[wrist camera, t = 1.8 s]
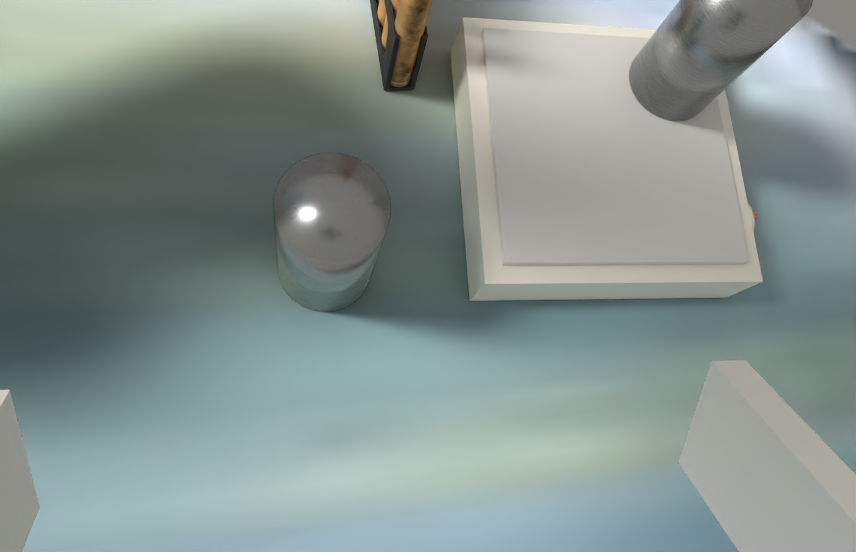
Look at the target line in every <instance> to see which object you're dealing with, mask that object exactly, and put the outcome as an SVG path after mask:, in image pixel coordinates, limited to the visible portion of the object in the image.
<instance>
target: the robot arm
mask: <svg viewBox="0 0 856 552" xmlns="http://www.w3.org/2000/svg"><path fill="white" fill-rule="evenodd" d="M678 463H679V464H680V466H681V467H682V469H683V470H684V472H685V473H686V475H687V476H688V478H689V479H690V480H691V482H692V483H693V485H694V486H695V488H696V489H697V491H698V492H699V494H700V495H701V497H702V498H703V500H704V501H705V503H706V504H707V506H708V507H709V509H710V510H711V512H712V513H713V515H714V516H715V517H716V519H717V520H718V522H719V523H720V525H721V526H722V528H723V529H724V531H725V532H726V534H727V535H728V537H729V538H730V540H731V541H732V543H733V544H734V546H735V547H736V549H737V550H738V551H739V552H856V474H855V473H854V472H853V471H852V470H851V469H850V468H849V467H848V466H847V465H846V464H845V463H844V462H843V461H842V460H841V459H840V458H839V457H838V456H837V455H836V454H835V453H834V452H833V450H832V449H831V448H830V447H829V446H828V445H827V444H826V443H825V442H824V441H823V440H822V439H821V438H820V437H819V436H818V435H817V434H816V433H815V432H814V431H813V430H812V429H811V428H810V427H809V426H808V425H807V423H806V422H805V421H804V420H803V419H802V418H801V417H800V416H799V415H798V414H797V413H796V412H795V411H794V410H793V409H792V408H791V407H790V406H789V405H788V404H787V403H786V402H785V401H784V400H783V399H782V398H781V397H780V395H779V394H778V393H777V392H776V391H775V390H774V389H773V388H772V387H771V386H770V385H769V384H768V383H767V382H766V381H765V380H764V379H763V378H762V377H761V376H760V375H759V374H758V373H757V372H756V371H755V370H754V368H753V367H752V366H751V365H750V364H749V363H748V362H747V361H746V360H725V361H711V364H710V367H709V370H708V373H707V376H706V379H705V382H704V385H703V388H702V392H701V395H700V398H699V401H698V404H697V407H696V410H695V413H694V416H693V419H692V422H691V425H690V428H689V431H688V435H687V438H686V441H685V444H684V447H683V450H682V453H681V456H680V459H679V462H678ZM38 510H39V503H38V499H37V495H36V491H35V487H34V483H33V479H32V475H31V471H30V467H29V464H28V460H27V456H26V452H25V448H24V444H23V440H22V436H21V432H20V428H19V424H18V420H17V416H16V412H15V408H14V404H13V400H12V397H11V393H10V390H0V552H22V550H23V547H24V545H25V542H26V540H27V537H28V535H29V532H30V530H31V527H32V525H33V522H34V520H35V517H36V515H37V512H38Z"/></svg>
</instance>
